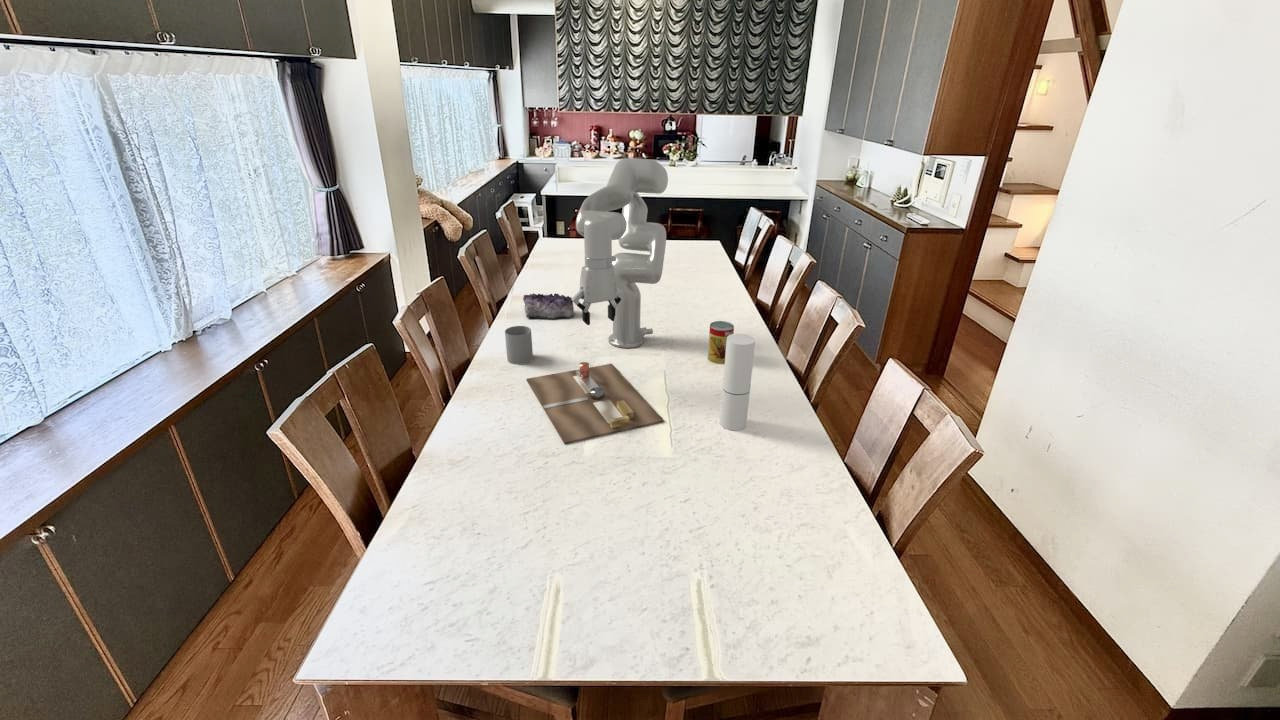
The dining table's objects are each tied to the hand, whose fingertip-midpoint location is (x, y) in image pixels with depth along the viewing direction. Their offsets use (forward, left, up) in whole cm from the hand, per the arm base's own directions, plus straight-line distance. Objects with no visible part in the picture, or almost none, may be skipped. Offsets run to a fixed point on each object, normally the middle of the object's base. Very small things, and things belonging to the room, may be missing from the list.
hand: (599, 321), depth 175 cm
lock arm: (+5, +3, -19) cm, 20 cm away
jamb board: (+7, +10, -20) cm, 23 cm away
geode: (-2, -60, -20) cm, 63 cm away
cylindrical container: (-24, +37, -20) cm, 49 cm away
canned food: (-42, 0, -20) cm, 47 cm away
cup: (+19, -25, -20) cm, 37 cm away
